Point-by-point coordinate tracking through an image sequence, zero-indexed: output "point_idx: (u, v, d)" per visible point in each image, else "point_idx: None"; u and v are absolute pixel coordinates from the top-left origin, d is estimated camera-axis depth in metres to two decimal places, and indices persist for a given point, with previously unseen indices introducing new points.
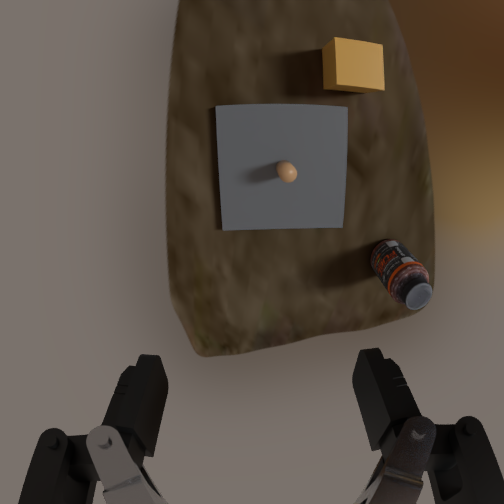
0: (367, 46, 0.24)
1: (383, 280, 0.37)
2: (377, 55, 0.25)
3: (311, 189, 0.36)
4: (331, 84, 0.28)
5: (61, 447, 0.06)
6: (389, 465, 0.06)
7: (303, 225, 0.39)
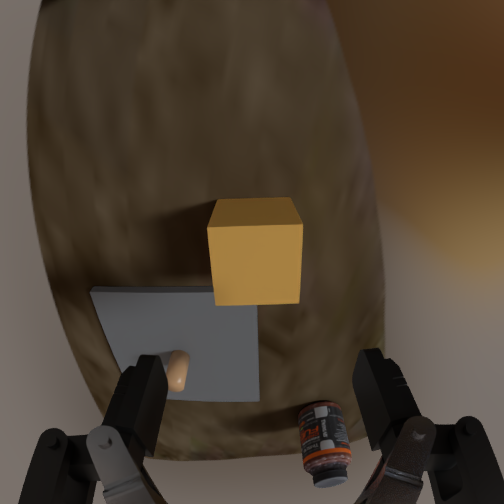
0: (271, 234, 0.17)
1: None
2: (291, 248, 0.18)
3: (216, 374, 0.30)
4: None
5: (61, 447, 0.06)
6: (389, 465, 0.06)
7: (213, 399, 0.32)
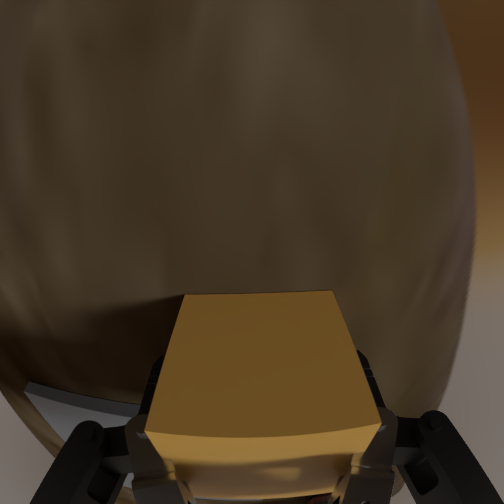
0: (303, 444, 0.06)
1: None
2: (344, 453, 0.06)
3: None
4: None
5: (98, 439, 0.07)
6: (355, 460, 0.06)
7: (204, 497, 0.20)
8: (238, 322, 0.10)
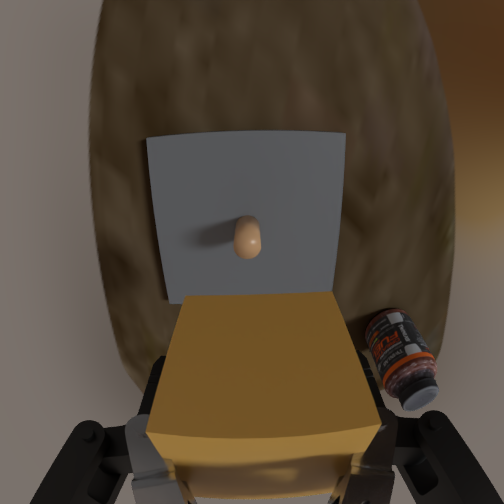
0: (304, 445, 0.06)
1: (378, 369, 0.27)
2: (344, 454, 0.06)
3: (287, 255, 0.26)
4: None
5: (98, 439, 0.07)
6: (355, 460, 0.06)
7: None
8: (238, 323, 0.10)
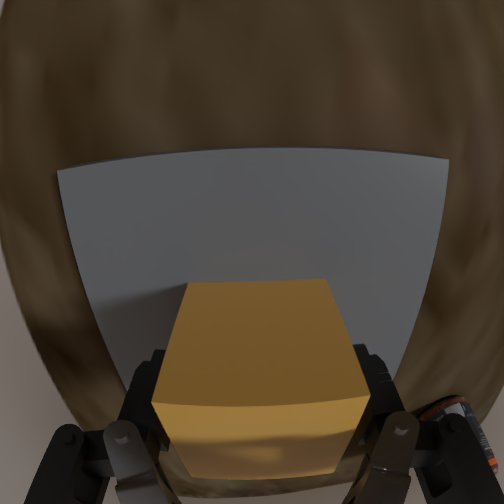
0: (298, 415, 0.07)
1: None
2: (337, 427, 0.07)
3: None
4: None
5: (77, 443, 0.06)
6: (374, 462, 0.06)
7: None
8: (238, 306, 0.10)
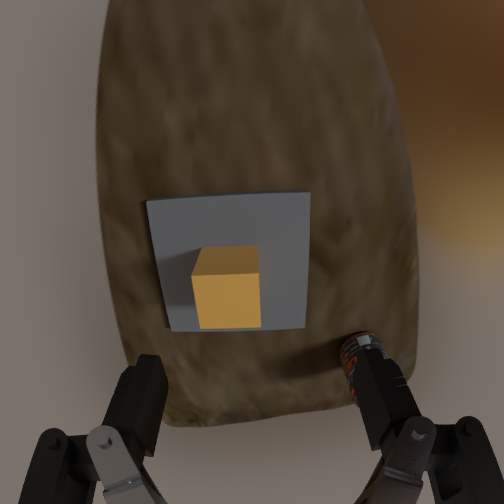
0: (236, 280, 0.24)
1: (348, 384, 0.32)
2: (251, 289, 0.25)
3: (265, 292, 0.32)
4: None
5: (61, 447, 0.06)
6: (389, 465, 0.06)
7: (258, 327, 0.34)
8: (221, 253, 0.28)
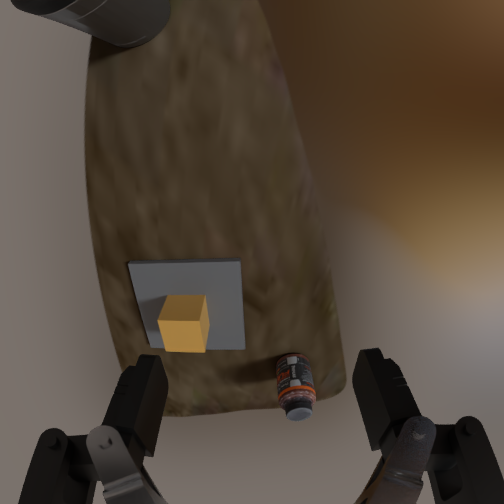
0: (185, 324, 0.37)
1: None
2: (196, 329, 0.37)
3: (213, 325, 0.44)
4: None
5: (61, 447, 0.06)
6: (389, 465, 0.06)
7: (211, 347, 0.46)
8: (179, 301, 0.40)
